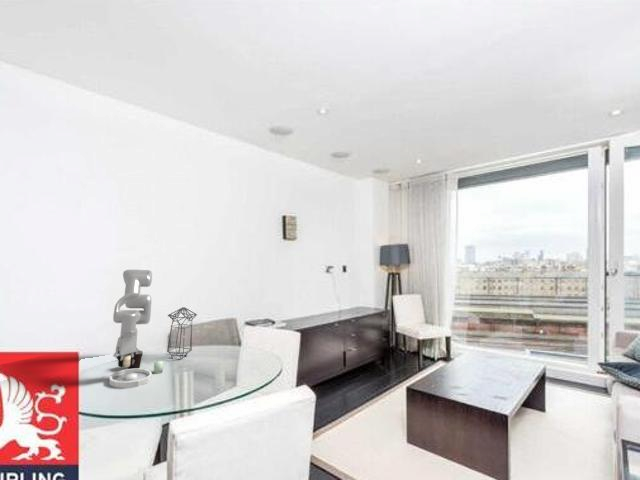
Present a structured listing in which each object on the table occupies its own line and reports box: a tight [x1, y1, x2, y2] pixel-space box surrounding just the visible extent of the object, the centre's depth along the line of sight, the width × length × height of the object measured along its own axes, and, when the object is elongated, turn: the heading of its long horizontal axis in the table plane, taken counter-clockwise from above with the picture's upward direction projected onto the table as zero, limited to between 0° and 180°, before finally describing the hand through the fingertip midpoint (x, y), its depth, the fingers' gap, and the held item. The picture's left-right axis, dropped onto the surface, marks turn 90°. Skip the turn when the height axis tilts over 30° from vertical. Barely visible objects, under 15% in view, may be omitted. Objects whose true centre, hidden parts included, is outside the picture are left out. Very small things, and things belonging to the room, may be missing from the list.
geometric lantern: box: [166, 306, 198, 360], centre depth 240 cm, size 16×16×35 cm
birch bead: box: [122, 354, 131, 369], centre depth 198 cm, size 5×5×6 cm
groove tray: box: [108, 367, 153, 389], centre depth 195 cm, size 21×21×3 cm
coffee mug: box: [127, 349, 144, 369], centre depth 214 cm, size 12×9×10 cm
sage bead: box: [153, 360, 164, 375], centre depth 210 cm, size 5×5×6 cm
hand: (125, 365), depth 198 cm, fingers closed on birch bead, 4 cm apart
